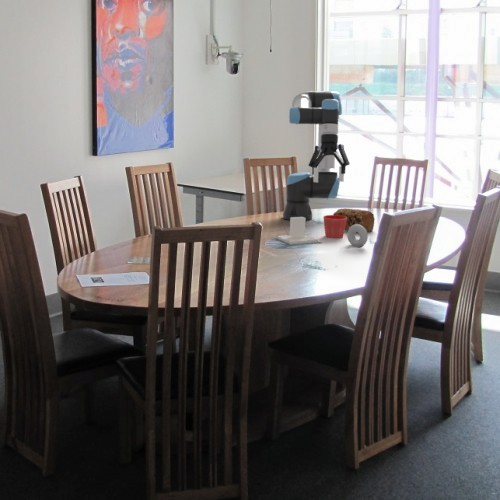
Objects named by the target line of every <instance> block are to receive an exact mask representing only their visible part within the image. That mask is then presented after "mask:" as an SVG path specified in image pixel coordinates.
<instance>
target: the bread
mask: <svg viewBox="0 0 500 500" xmlns="http://www.w3.org/2000/svg"><path fill="white" fill-rule="evenodd" d="M332 215H340V216H345V217H347V222H346V226H345V231H347V232H348V230H349V228H350V227H351V226H352V225H355V224H359V225H361V226H363V227H364V228H365V229H366V231H367V233H369V232H372V231H374V227H375V220H376V219H375V216H374V213H373V212H371V211H369V210H363V209H356V208H354V209H353V208H339V209H337V210H336V211H335V212H334V213H333V214H332Z"/></svg>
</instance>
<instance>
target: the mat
mask: <svg viewBox="0 0 500 500" xmlns="http://www.w3.org/2000/svg"><path fill="white" fill-rule="evenodd" d="M272 239H274V240H276V241H278V242H280V243H283V244H285V245H288V246H289V247H293V246H295V247H296V246H306V245H308V246H309V245H320V244H323V242H321V241H319V240H317V242H315V243H303V244H289V243H286V242H284V241H282V240H279V239H278V237H272Z"/></svg>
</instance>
